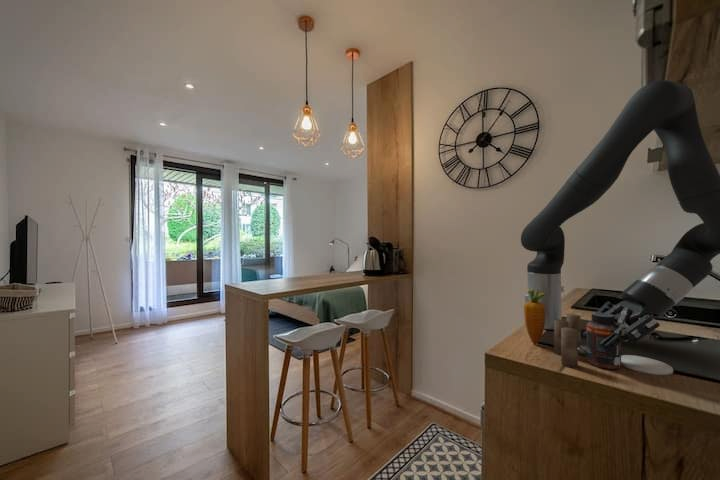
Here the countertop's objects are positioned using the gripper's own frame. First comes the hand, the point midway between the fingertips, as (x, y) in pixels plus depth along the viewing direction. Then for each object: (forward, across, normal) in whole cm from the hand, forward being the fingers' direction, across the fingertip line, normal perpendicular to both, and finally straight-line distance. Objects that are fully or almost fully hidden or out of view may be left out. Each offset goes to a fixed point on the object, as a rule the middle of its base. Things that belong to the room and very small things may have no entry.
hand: (594, 342), depth 66 cm
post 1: (+6, -6, 0) cm, 8 cm away
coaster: (-4, -1, +10) cm, 11 cm away
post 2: (+3, -12, +4) cm, 13 cm away
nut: (+3, -7, +4) cm, 8 cm away
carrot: (+9, -11, -2) cm, 15 cm away
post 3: (+7, +1, -1) cm, 8 cm away
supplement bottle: (+2, 0, +5) cm, 5 cm away
